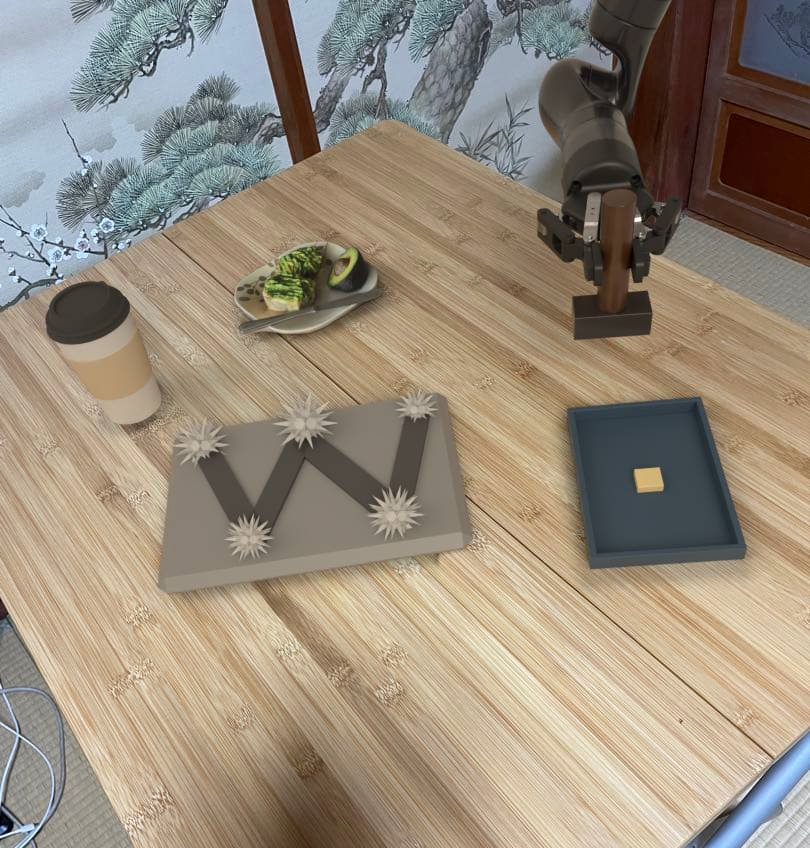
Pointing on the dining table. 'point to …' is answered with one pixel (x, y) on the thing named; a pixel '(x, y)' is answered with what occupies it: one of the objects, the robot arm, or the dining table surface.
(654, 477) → the crumb
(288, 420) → the constellation board
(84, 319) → the coffee cup
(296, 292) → the avocado toast plate
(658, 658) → the dining table surface
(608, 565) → the tray
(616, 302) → the wooden peg on stand
